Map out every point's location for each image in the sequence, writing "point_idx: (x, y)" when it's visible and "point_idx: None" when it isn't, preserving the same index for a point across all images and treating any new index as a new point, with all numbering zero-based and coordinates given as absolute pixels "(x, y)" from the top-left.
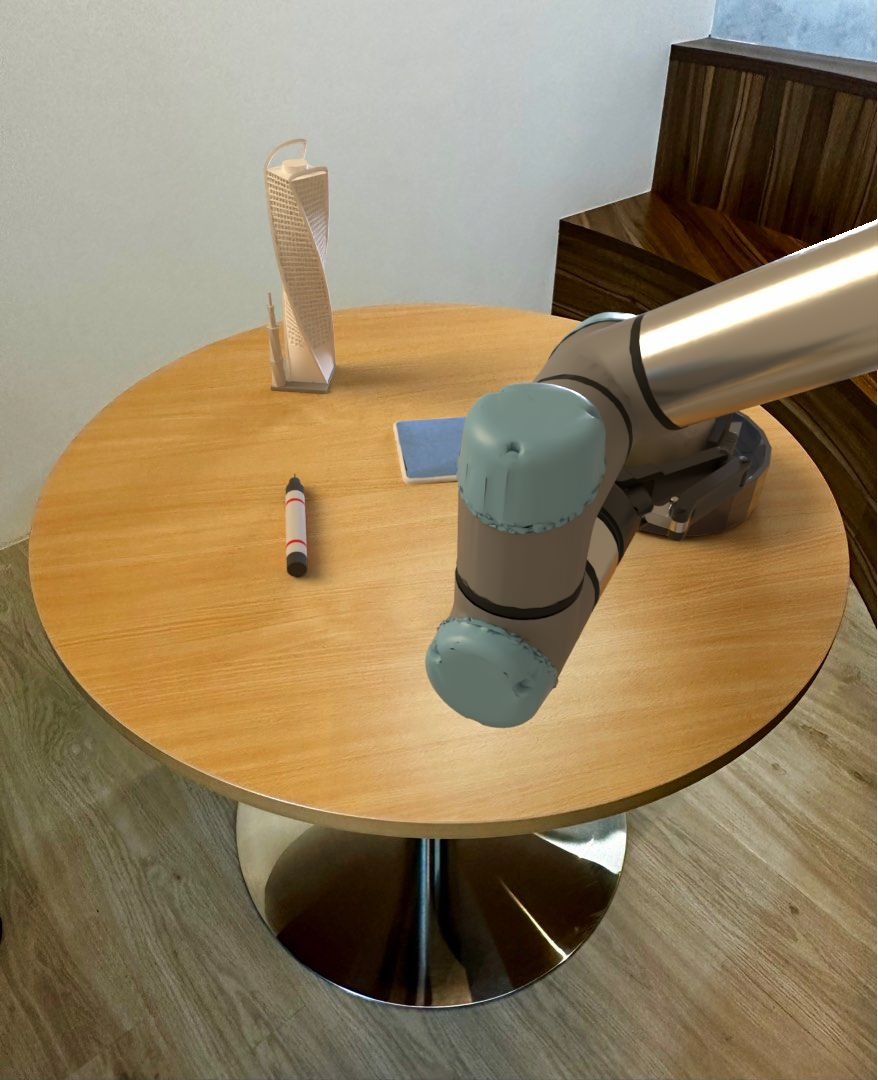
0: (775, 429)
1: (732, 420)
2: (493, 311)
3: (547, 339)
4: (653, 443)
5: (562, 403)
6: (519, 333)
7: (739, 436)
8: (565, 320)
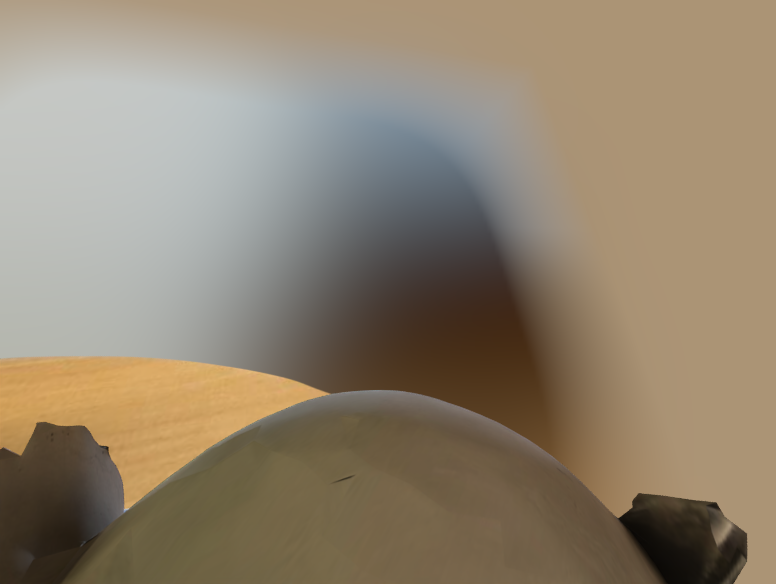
0: None
1: None
2: (108, 360)
3: (175, 387)
4: None
5: None
6: (137, 383)
7: None
8: (204, 363)
